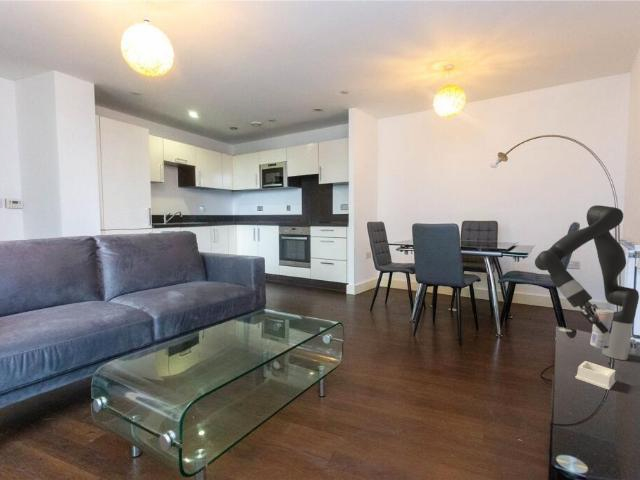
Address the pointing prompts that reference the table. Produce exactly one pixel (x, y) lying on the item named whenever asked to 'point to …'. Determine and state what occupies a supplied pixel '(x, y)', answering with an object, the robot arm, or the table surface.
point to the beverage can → (597, 336)
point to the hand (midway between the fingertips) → (607, 330)
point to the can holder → (596, 375)
